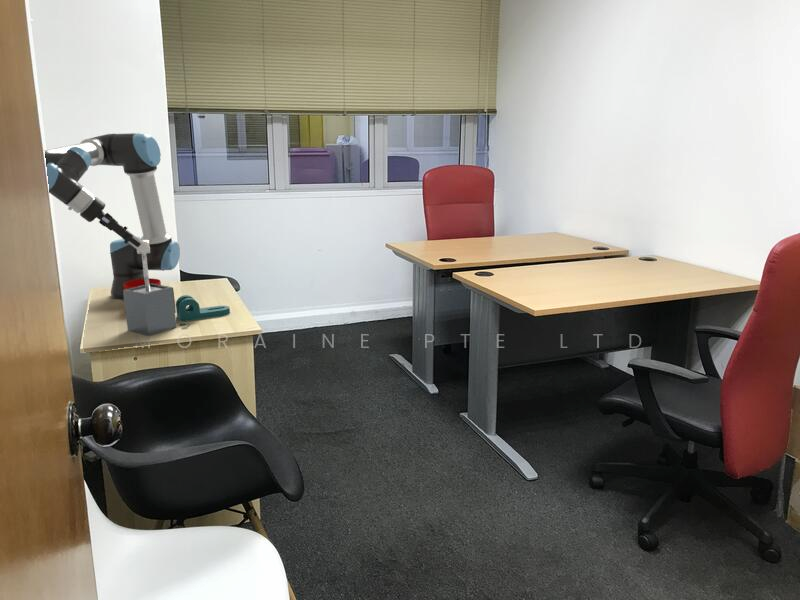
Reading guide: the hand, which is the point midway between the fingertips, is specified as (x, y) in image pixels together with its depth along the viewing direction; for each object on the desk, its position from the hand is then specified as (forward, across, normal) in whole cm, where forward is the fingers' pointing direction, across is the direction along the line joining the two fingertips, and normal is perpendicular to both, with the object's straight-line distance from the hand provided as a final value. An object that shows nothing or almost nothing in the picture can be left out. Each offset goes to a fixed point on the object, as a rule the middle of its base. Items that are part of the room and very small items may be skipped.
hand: (144, 248), depth 205 cm
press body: (+20, -1, -18) cm, 28 cm away
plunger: (+10, -1, -11) cm, 15 cm away
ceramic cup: (+22, -28, -17) cm, 40 cm away
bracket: (+33, -7, -6) cm, 34 cm away
